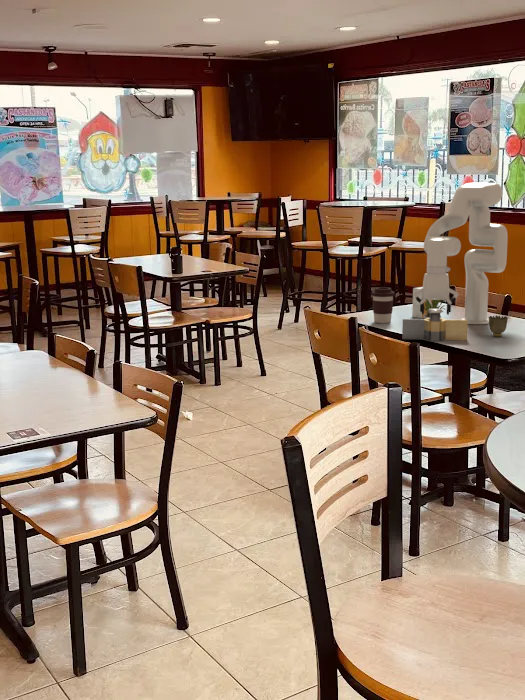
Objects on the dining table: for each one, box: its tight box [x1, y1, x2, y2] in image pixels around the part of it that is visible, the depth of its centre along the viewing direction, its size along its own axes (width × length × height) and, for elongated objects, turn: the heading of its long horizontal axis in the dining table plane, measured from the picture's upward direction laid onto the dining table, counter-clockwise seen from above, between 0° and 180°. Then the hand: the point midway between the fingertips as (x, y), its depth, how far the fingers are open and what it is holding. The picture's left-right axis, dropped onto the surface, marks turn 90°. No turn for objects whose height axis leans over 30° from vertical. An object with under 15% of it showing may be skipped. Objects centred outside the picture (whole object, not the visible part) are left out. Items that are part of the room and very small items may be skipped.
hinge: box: [401, 317, 469, 343], centre depth 342 cm, size 8×25×8 cm, turn 81°
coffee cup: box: [371, 286, 395, 324], centre depth 378 cm, size 10×10×15 cm
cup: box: [488, 315, 509, 338], centre depth 346 cm, size 8×7×8 cm
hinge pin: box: [429, 308, 443, 321], centre depth 342 cm, size 5×5×12 cm
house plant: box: [419, 296, 452, 319], centre depth 358 cm, size 14×14×16 cm
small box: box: [412, 286, 432, 319], centre depth 390 cm, size 8×6×13 cm
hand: (435, 313), depth 341 cm, fingers open, 9 cm apart
